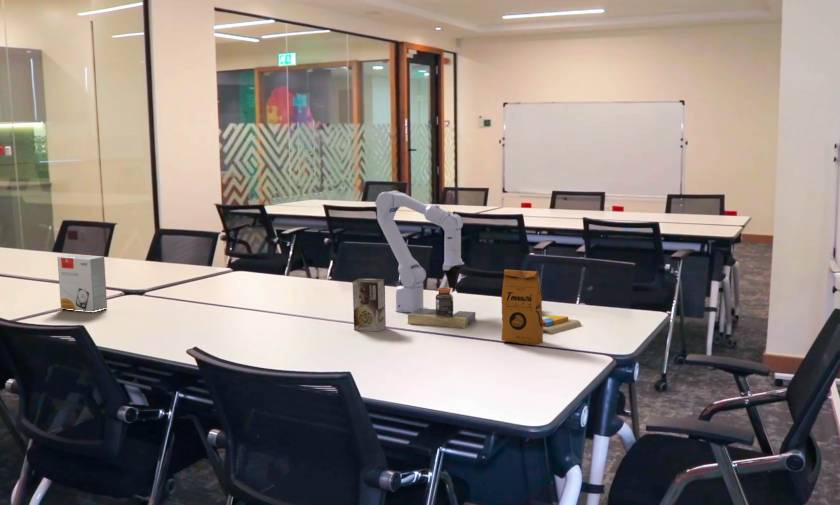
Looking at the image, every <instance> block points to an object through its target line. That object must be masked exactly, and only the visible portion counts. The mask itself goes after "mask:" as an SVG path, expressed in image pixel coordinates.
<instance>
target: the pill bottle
mask: <svg viewBox="0 0 840 505" xmlns="http://www.w3.org/2000/svg"><path fill="white" fill-rule="evenodd" d="M437 289H438V290H437V291H438V293H437V294H436V295H435V309H436V315H444V316H452V315H453V314H454V295H453V294H452V293H451V288H449V287H447V286H445V287H439V288H437Z"/></svg>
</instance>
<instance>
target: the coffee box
mask: <svg viewBox="0 0 840 505" xmlns="http://www.w3.org/2000/svg"><path fill="white" fill-rule="evenodd" d="M385 280H386V279H385V278H384V279H383V278H358V279H355V280H353V281H351V282H352V299H353V300H352V301H353V303H352V304H353V306H352V307H353V310H352V311H353V330H354V329H356V330H355V331H365V330H367V331H368V332H380V331H383V330H384V329H385V328H386V326H387V324H386V323H387V322H386V320H387V319H386V284H385Z"/></svg>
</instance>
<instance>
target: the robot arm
mask: <svg viewBox="0 0 840 505" xmlns="http://www.w3.org/2000/svg"><path fill="white" fill-rule="evenodd" d="M374 204H375V206H376V216H377V217H376V219H377V222H378V224H379V227H380V229H381V230H382V232H383V235H384V237H385V239H386V240H387V243H388V245H389V246H390V248H391V251H392V253H393V255H394V257H395V259H396V260H397V262H398V268H397V272H398V274H399V279H400V282H401V284H402V285H398V286H397V288H396V292H395V312H398V313H399V312H401V313H412V312H414V311H416V310H418V309H420V308H423V309H428V307H424V281H425V280H426V278H427V273H426V270H425V268H423V267H422V265H420V263H419V262H418V261H417V260H416V259H415V258H414V257H413V256H412V254H411V252H410V250H409V247H408V245H407V244H406V242H405V240H404V238H403V237H404V236H402V234H401V231H400V230H399V229H400V228H398V226H397V224H396V222H395V216H396V213H397V211H398V210H399V209H400V208H404V207H405V208H407V209H409V210H412V211H415V212H417V213H419V214H421V215H423V216H424V218H425V220H426V221H428V222H431V223H432V224H434V225H437V226H438V227H441V228H442V230H443V231H444V239H443V240H444V249H443V250H444V254H443V255H444V259H443V260H444V262H443V264H442V271H443V272H444V274H445V277H446V280H447V285H448V288H450V289H456V288H457V285H458V281H459V276H460V273H461V271H462V270H463V265H464V264H465V261H463V259H462V257H461V256H462V251H461V250H462V235H461V234H462V228H463V225H464V220H463V217H462V216H460V215H459V214H458V213H453V214H452V211H450V210H445V209H443V208H441V206H440V205H439V204H431V205H429V206H428V205H426V204H425V203H423V202H421V201H420V200H417V199H415V198H414V197H412V196H410V195H408V194H406V193H404V192H400V191H399V190H392V191H382V192H380V193H379V194H378V195H377V196H376V200H375V202H374Z"/></svg>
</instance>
